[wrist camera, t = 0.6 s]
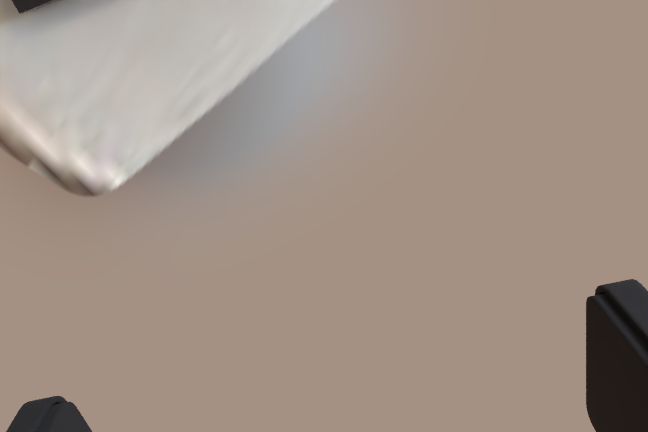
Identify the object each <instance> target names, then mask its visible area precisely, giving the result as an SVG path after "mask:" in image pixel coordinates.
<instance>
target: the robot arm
mask: <svg viewBox="0 0 648 432" xmlns="http://www.w3.org/2000/svg"><path fill="white" fill-rule="evenodd" d="M586 405H587V411H588V415H589V418H590V420H591V423H592V425H593V427H594V429H595V430H596V432H648V291H647V290H646V289H645V288H644V287H643V286H642V285H641V284H640V283H639V282H638V281H636V280H634V279H630V280H625V281H620V282H615V283H611V284H605V285H601V286H598V287H597V289H596V293H595V296H590V297H588V298H587V302H586ZM6 432H92V431H91V429H90V428H89V426H88V425H87V423H86V421H85V420H84V418H83V417H82V415H81V414H80V412H79V411H78V409H77V407H76V406H75V405H74V404H73V403H71V402H67V401H66V400H65V399H64V398H63V397H61V396H54V397H50V398H44V399H39V400H35V401H30V402H27V403H25V404H24V405H23V406H22V407H21V409H20V410H19V411H18V413H17V415H16V416H15V418H14V420H13V421H12V423H11V425H10V426H9V428H8V430H7V431H6Z"/></svg>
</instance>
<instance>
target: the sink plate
mask: <svg viewBox="0 0 648 432" xmlns="http://www.w3.org/2000/svg"><path fill="white" fill-rule="evenodd" d="M12 1H13V3H14V5H15V6H16V8H17V10H18V12H19V13H24V12H28V11H32V10H34V9H37V8H39V7H42V6H44V5H47V4H49V3H51V2H54V1H56V0H12Z"/></svg>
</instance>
